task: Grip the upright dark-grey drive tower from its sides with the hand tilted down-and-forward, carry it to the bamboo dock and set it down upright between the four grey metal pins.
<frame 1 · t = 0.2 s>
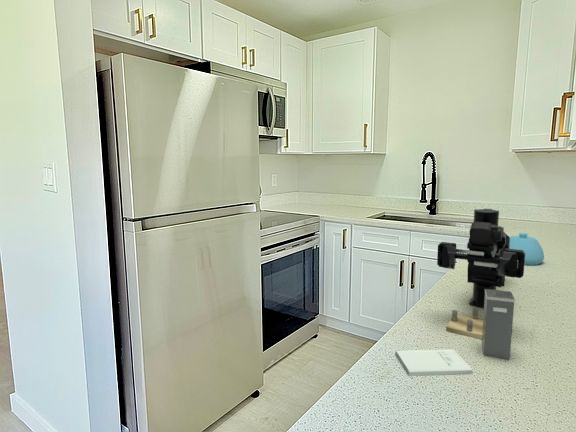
hand: (473, 269, 83), 17 cm above the worktop, tool horizontal, fingers open, 9 cm apart
drive tower: (495, 352, 80), on the worktop
sugar bowl: (521, 261, 151), on the worktop
external hard drive: (431, 367, 76), on the worktop
dock: (472, 328, 91), on the worktop
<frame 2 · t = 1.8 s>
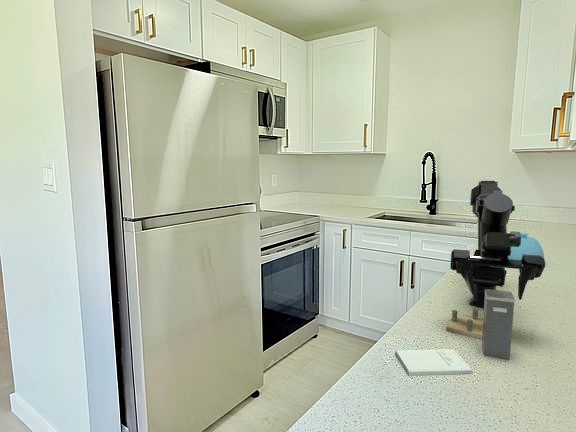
hand: (496, 296, 82), 11 cm above the worktop, tool tilted 45°, fingers open, 9 cm apart
nothing on the worktop moved.
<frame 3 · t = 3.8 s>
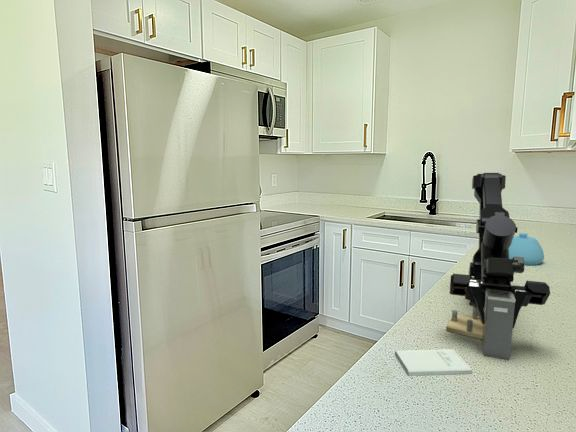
hand: (497, 325, 77), 7 cm above the worktop, tool tilted 45°, fingers closed on drive tower, 5 cm apart
drive tower: (495, 352, 80), on the worktop, touching gripper
everything else where it was.
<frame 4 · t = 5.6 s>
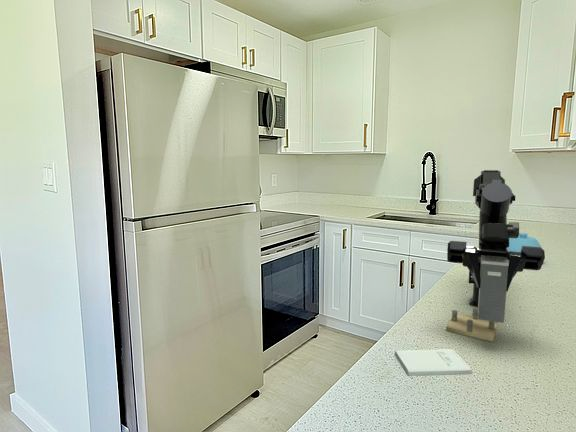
hand: (492, 289, 79), 14 cm above the worktop, tool tilted 45°, fingers closed on drive tower, 5 cm apart
drive tower: (490, 316, 81), point 7 cm above the worktop, touching gripper
everything else where it was.
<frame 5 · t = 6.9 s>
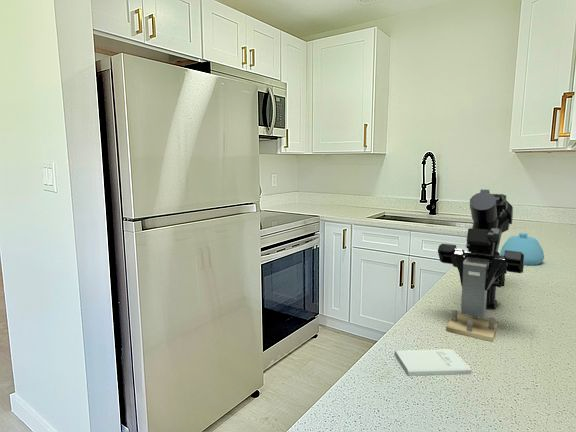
hand: (473, 287, 88), 11 cm above the worktop, tool tilted 45°, fingers closed on drive tower, 5 cm apart
drive tower: (473, 312, 91), point 4 cm above the worktop, touching gripper
everything else where it was.
when the fingers open (9 cm above the worktop, at t = 7.7 s): drive tower drops 1 cm, resting on dock.
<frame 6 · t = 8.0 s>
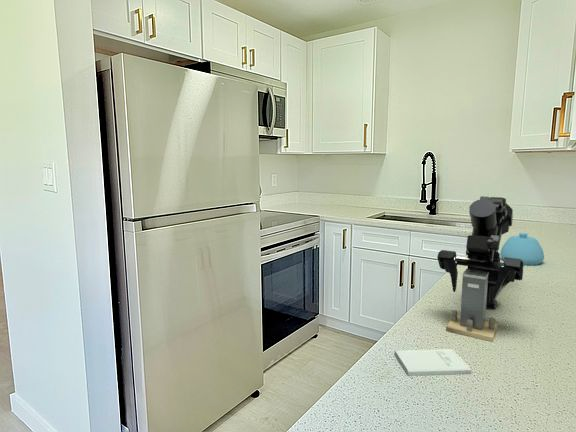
hand: (473, 294, 89), 9 cm above the worktop, tool tilted 45°, fingers open, 8 cm apart
drive tower: (472, 324, 91), point 1 cm above the worktop, touching dock
everything else where it was.
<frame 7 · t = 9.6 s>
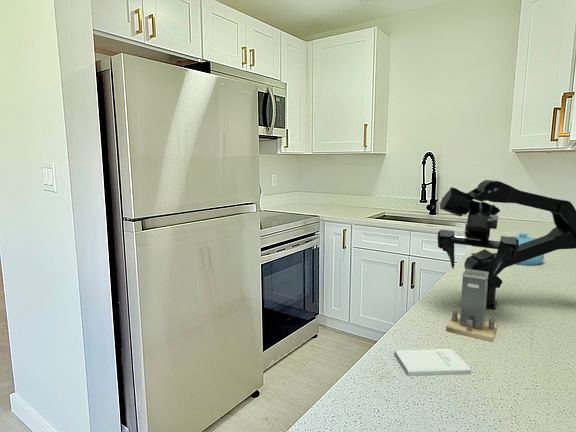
hand: (472, 270, 94), 13 cm above the worktop, tool tilted 45°, fingers open, 9 cm apart
nothing on the worktop moved.
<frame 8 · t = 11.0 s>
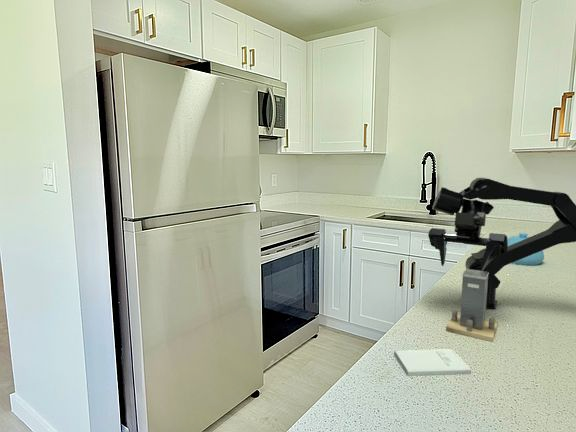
hand: (461, 267, 95), 14 cm above the worktop, tool tilted 45°, fingers open, 9 cm apart
nothing on the worktop moved.
at the end: drive tower 0.0 cm off-centre on the dock, point 1.0 cm above the dock's base; drive tower tilted 0°; the gripper is holding nothing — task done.
